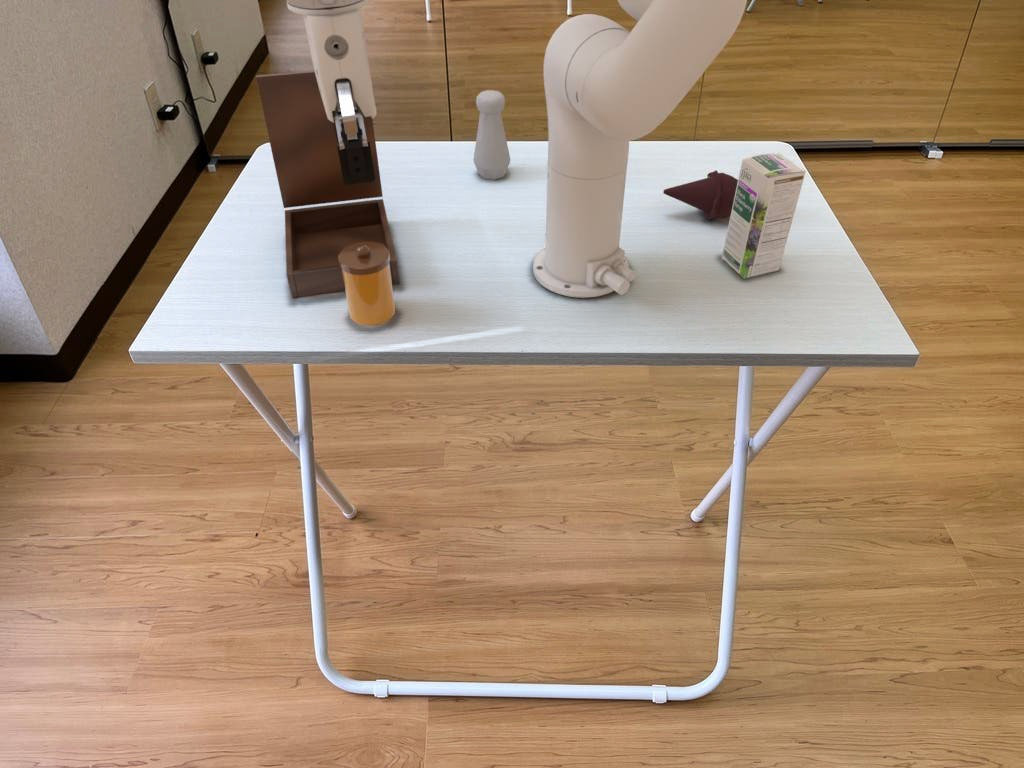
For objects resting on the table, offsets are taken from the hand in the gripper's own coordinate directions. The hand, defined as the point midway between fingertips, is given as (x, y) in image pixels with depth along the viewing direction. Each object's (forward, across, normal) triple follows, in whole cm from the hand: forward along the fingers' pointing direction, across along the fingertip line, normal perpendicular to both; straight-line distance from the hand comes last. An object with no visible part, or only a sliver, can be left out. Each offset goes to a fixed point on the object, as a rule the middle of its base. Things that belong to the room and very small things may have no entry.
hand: (355, 161), depth 83 cm
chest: (+20, +13, +4) cm, 25 cm away
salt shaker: (+21, +34, -21) cm, 45 cm away
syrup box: (+22, 0, -49) cm, 54 cm away
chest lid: (+7, +22, +4) cm, 23 cm away
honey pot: (+20, 0, +1) cm, 20 cm away
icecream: (+22, +13, -50) cm, 56 cm away
